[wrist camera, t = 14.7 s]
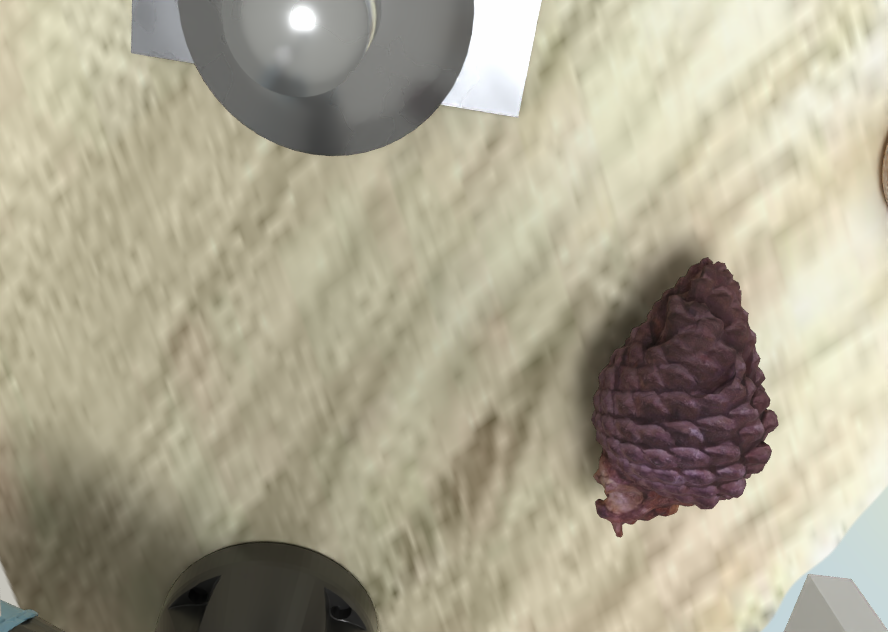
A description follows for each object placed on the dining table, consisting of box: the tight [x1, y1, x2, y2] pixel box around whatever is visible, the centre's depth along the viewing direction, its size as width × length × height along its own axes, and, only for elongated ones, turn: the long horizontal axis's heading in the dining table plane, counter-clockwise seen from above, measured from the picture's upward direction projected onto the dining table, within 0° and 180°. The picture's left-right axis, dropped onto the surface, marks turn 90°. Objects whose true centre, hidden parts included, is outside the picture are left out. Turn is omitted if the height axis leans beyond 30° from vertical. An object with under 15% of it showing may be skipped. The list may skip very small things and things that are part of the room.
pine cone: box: [591, 257, 778, 538], centre depth 46 cm, size 18×10×10 cm, turn 171°
